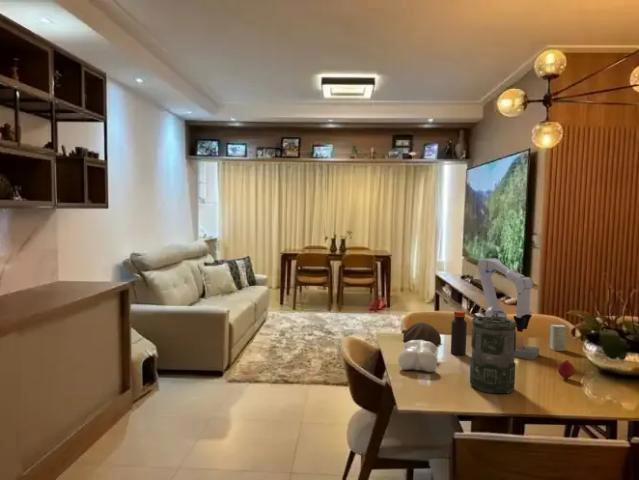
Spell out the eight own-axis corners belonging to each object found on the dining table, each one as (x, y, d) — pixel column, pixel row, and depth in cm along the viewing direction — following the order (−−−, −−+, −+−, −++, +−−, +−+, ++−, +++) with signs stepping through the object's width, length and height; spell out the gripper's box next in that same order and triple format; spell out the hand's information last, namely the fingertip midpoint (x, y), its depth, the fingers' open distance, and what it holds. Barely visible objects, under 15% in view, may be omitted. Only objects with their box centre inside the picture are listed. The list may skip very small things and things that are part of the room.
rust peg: (513, 354, 229) (514, 337, 228) (515, 352, 231) (516, 336, 231) (521, 355, 226) (521, 338, 226) (523, 354, 229) (523, 337, 229)
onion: (567, 382, 189) (568, 362, 189) (554, 377, 194) (555, 358, 194) (577, 380, 192) (577, 360, 192) (563, 376, 197) (564, 356, 197)
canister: (509, 398, 170) (512, 319, 169) (464, 389, 179) (467, 314, 178) (517, 385, 184) (520, 312, 183) (475, 377, 192) (478, 308, 191)
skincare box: (562, 348, 241) (563, 324, 240) (565, 351, 236) (566, 326, 236) (549, 348, 241) (550, 324, 241) (552, 350, 237) (553, 326, 236)
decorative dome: (399, 336, 259) (399, 318, 258) (435, 337, 259) (436, 319, 259) (406, 346, 239) (407, 326, 239) (446, 347, 240) (446, 327, 239)
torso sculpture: (436, 381, 194) (438, 353, 222) (437, 355, 192) (439, 331, 221) (397, 376, 198) (404, 350, 227) (397, 352, 196) (404, 328, 225)
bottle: (449, 354, 225) (451, 312, 224) (451, 351, 231) (453, 309, 231) (464, 356, 223) (466, 313, 222) (466, 352, 229) (467, 311, 228)
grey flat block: (496, 353, 229) (497, 346, 229) (504, 348, 239) (504, 342, 238) (532, 360, 219) (533, 353, 219) (538, 354, 229) (539, 347, 229)
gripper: (528, 305, 225) (526, 334, 226) (536, 301, 236) (534, 329, 237) (512, 303, 229) (511, 331, 230) (521, 299, 241) (519, 326, 241)
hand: (522, 330), depth 234 cm, fingers open, 7 cm apart
